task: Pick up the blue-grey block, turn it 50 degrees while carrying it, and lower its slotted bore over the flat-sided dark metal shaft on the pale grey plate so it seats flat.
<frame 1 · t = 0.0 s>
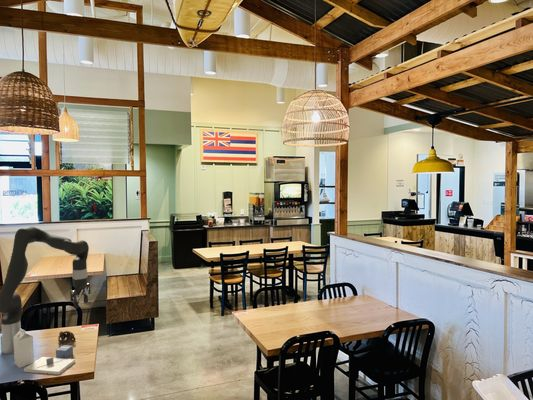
hand: (81, 305, 213), 29 cm above the table, tool pointing down, fingers open, 8 cm apart
dark brown rounded lump: (66, 343, 232), on the table
milk carton: (24, 363, 207), on the table
blue-grey block: (64, 356, 215), on the table
shaft plate: (50, 366, 203), on the table
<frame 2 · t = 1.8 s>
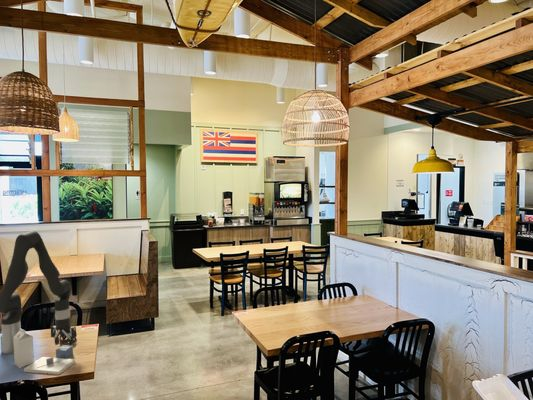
hand: (64, 344, 214), 7 cm above the table, tool pointing down, fingers open, 8 cm apart
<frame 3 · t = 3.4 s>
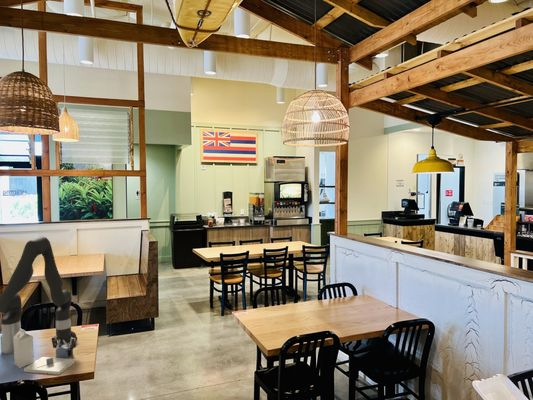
hand: (64, 355, 215), 1 cm above the table, tool pointing down, fingers closed on blue-grey block, 6 cm apart
blue-grey block: (64, 356, 215), on the table, touching gripper
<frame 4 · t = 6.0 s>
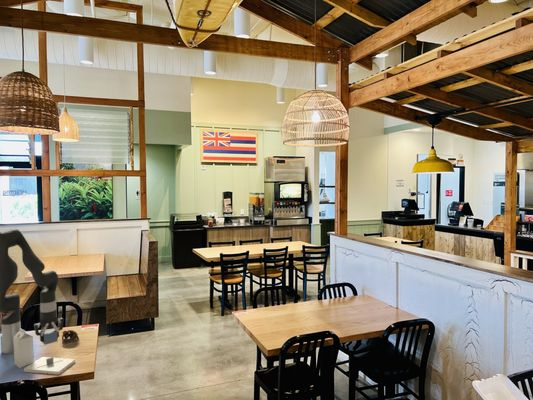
hand: (49, 340, 203), 15 cm above the table, tool pointing down, fingers closed on blue-grey block, 6 cm apart
blue-grey block: (49, 341, 203), point 14 cm above the table, touching gripper
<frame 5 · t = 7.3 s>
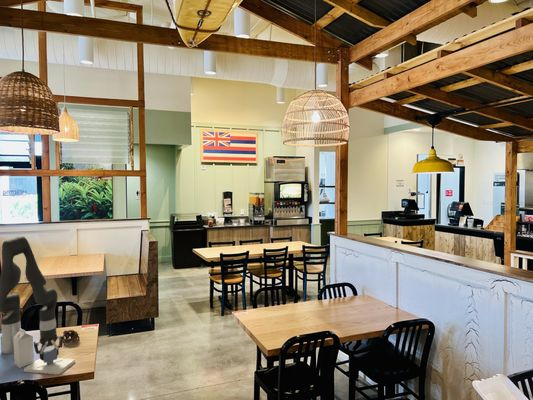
hand: (49, 357, 203), 5 cm above the table, tool pointing down, fingers closed on blue-grey block, 6 cm apart
blue-grey block: (49, 358, 203), point 4 cm above the table, touching gripper
when the fingers open (3 cm above the table, at t = 8.6 s): blue-grey block stays where it is, resting on shaft plate.
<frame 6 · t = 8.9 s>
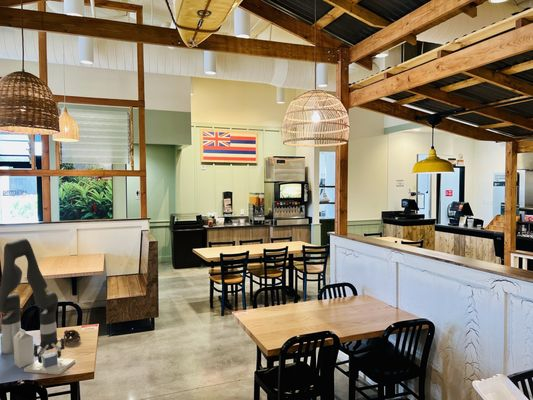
hand: (49, 360, 203), 4 cm above the table, tool pointing down, fingers open, 8 cm apart
blue-grey block: (49, 363, 203), point 2 cm above the table, touching shaft plate
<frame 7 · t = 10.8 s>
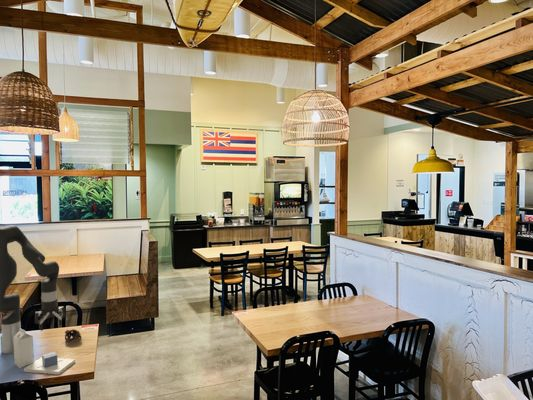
hand: (50, 328, 206), 19 cm above the table, tool pointing down, fingers open, 8 cm apart
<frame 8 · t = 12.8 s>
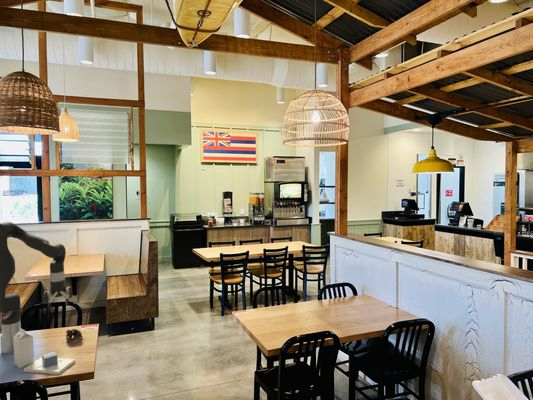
hand: (58, 306, 220), 26 cm above the table, tool pointing down, fingers open, 8 cm apart
at the end: blue-grey block 0.0 cm off-centre on the shaft plate, point 1.6 cm above the shaft plate's base; blue-grey block tilted 0°; the gripper is holding nothing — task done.
